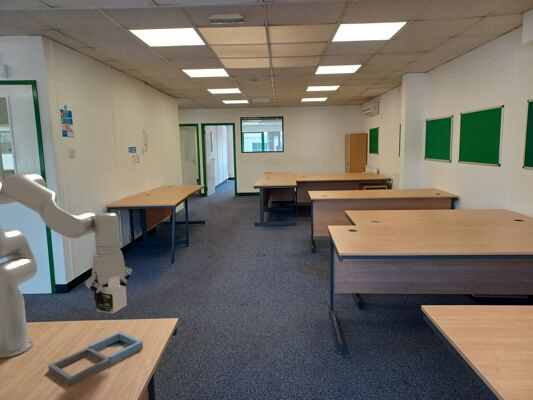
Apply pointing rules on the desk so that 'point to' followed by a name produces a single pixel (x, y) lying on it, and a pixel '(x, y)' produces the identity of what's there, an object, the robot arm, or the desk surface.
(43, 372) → the desk surface
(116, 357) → the frame
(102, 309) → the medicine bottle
